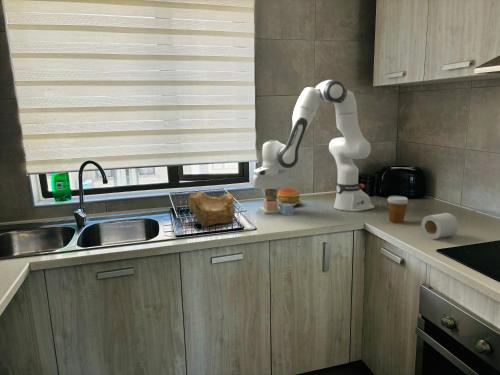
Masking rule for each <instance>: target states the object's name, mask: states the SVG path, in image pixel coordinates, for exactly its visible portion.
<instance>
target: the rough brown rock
mask: <svg viewBox="0 0 500 375" xmlns="http://www.w3.org/2000/svg"><path fill="white" fill-rule="evenodd" d="M187 202H188V203H187V205H188V208H189V212H190V213H192V214H193V215H194V218H195V219H196V221H198V222H199V223H200V225H201V227H203V228H205V227H209V226H212V225H215V224H230V222H232V220H233V219H234V217H235V205H234V195H233V194H231V193H224V194H223V195H221V196H219V197H218V196H217V197H216V196H209V195H208V194H206V192H203V191H198V192H196V193H191V194H189V195H188V198H187Z"/></svg>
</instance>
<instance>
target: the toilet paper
mask: <svg viewBox="0 0 500 375" xmlns="http://www.w3.org/2000/svg"><path fill="white" fill-rule="evenodd" d="M458 223H459V222H458V220H457V218H456V216H454V215H453V214H452V213H449V212H443V213H436V214H431V215H426V216H424V218H422V220H421V224H420V226H421V228H420V229H421V231H422V233H423V235H424V236H425V237H426V238H428V239H430V240H436V239H441V238H447V237H451V236H454V235H456V233H457V232H458V230H459V224H458Z"/></svg>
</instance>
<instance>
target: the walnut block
mask: <svg viewBox="0 0 500 375" xmlns="http://www.w3.org/2000/svg"><path fill="white" fill-rule="evenodd" d="M276 189H277V188H275V187H271V188H265V190H264V191H265V192H266V193H267V196H264V195H263V197H264V199H268V200H272V199H276V200H278V197H277V196H278V195H277V190H276Z"/></svg>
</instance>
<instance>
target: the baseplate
mask: <svg viewBox="0 0 500 375" xmlns="http://www.w3.org/2000/svg"><path fill="white" fill-rule="evenodd" d="M258 210H260V211H261V212H262V213H263V214H264V215H267V214H274V213H275V214H276V213H280V207H278V210H270V211H267V210H266V209H264V206H260V207H258Z"/></svg>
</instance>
